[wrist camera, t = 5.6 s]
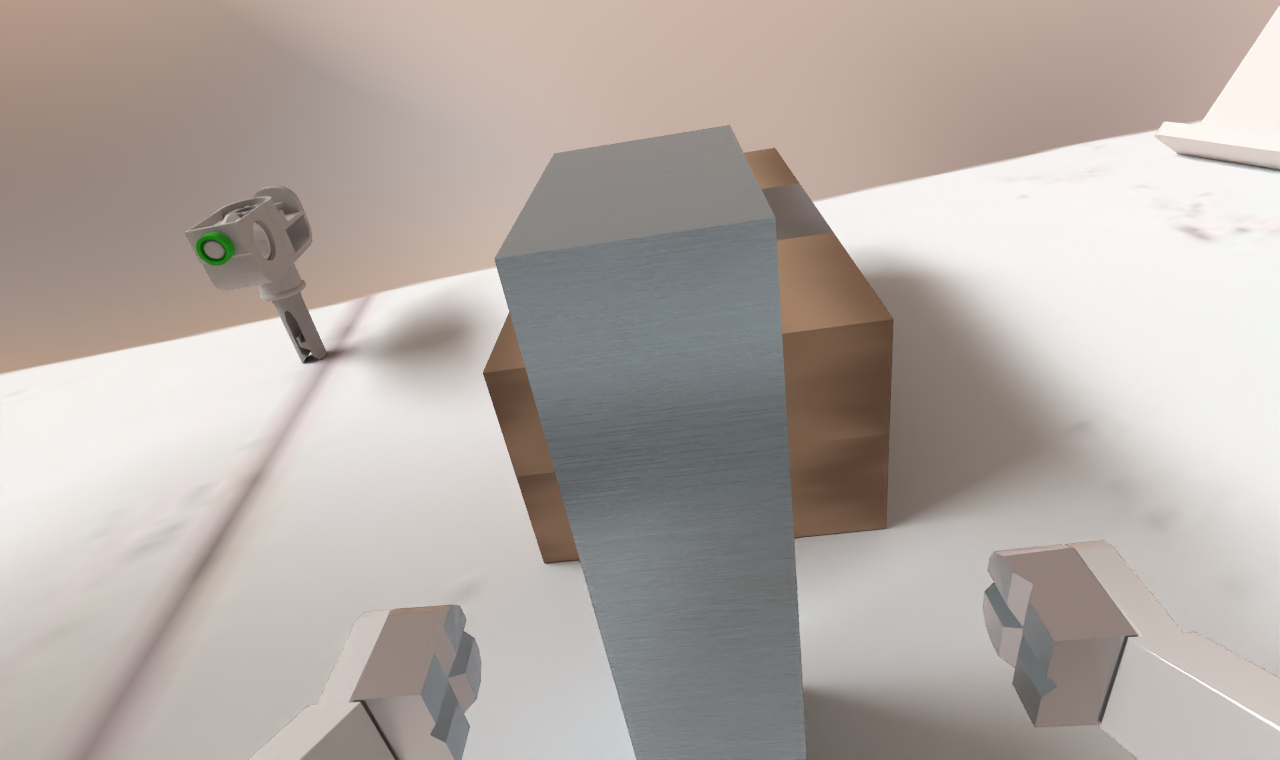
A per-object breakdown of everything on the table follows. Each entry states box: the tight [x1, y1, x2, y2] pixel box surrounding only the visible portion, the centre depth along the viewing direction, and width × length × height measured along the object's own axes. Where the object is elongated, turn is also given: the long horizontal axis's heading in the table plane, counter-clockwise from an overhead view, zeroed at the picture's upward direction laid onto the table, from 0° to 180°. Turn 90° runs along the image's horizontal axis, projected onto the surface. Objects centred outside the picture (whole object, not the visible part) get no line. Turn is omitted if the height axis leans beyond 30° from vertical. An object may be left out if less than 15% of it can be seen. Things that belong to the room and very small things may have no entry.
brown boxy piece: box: [483, 148, 893, 563], centre depth 31 cm, size 12×22×8 cm, turn 179°
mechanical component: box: [185, 185, 327, 363], centre depth 41 cm, size 3×10×10 cm, turn 7°
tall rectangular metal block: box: [495, 125, 807, 760], centre depth 13 cm, size 3×5×15 cm, turn 179°
